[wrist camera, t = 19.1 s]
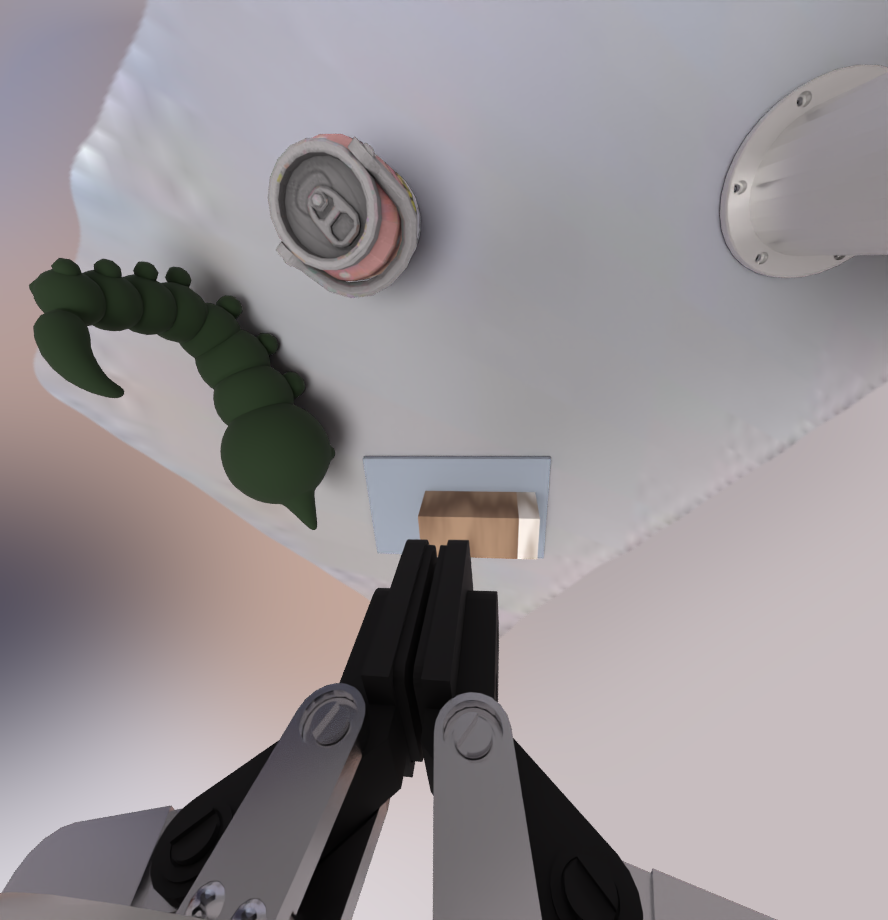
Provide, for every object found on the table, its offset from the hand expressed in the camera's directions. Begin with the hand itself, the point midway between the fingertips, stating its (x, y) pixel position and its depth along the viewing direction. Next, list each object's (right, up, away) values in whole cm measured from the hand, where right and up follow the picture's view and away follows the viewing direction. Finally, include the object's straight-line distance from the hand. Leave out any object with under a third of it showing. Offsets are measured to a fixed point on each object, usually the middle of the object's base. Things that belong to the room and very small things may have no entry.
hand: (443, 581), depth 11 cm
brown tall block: (-2, -3, +32) cm, 33 cm away
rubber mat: (+2, -2, +35) cm, 35 cm away
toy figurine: (-17, +11, +31) cm, 37 cm away
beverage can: (-5, +23, +23) cm, 33 cm away
